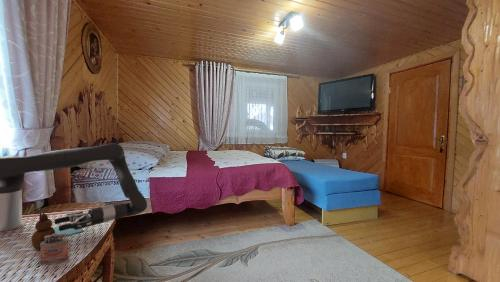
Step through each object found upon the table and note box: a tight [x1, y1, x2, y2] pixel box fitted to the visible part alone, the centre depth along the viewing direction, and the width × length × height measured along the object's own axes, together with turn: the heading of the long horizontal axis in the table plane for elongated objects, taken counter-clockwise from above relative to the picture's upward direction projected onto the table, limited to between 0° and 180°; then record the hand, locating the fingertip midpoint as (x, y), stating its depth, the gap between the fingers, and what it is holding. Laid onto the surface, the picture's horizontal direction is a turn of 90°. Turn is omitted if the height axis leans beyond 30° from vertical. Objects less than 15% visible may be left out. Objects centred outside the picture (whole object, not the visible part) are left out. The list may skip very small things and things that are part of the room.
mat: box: [52, 226, 85, 237], centre depth 102 cm, size 12×11×1 cm
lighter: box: [39, 233, 70, 266], centre depth 80 cm, size 8×3×10 cm, turn 114°
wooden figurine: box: [31, 211, 55, 251], centre depth 88 cm, size 7×6×15 cm
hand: (56, 225), depth 91 cm, fingers open, 8 cm apart
